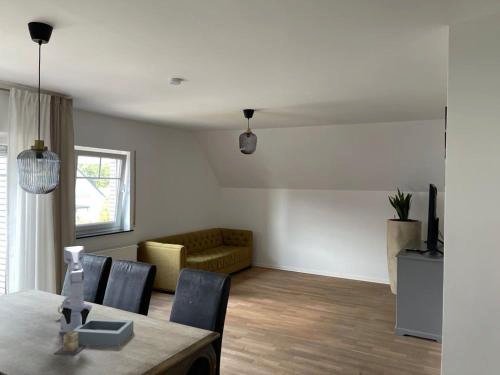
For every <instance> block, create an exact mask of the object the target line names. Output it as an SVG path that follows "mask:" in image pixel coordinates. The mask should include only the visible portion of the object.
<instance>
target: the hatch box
mask: <svg viewBox="0 0 500 375" xmlns="http://www.w3.org/2000/svg"><path fill="white" fill-rule="evenodd" d="M71 332H78V345H90V346H91V345H93V346H94V345H95V346H111V347H119V346H120V345H121V344H122V343H123V342H125V340H126V339H128V337H130V336H131V335H132V334H133V333H134V320H133V319H131V320H129V319H109V318H91V317H90V318H87V319H86V323H85V324H84V325H82V323H81V325H79V326H78V327H76V328H75V329H73V330H72V331H71Z"/></svg>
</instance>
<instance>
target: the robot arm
mask: <svg viewBox="0 0 500 375" xmlns="http://www.w3.org/2000/svg"><path fill="white" fill-rule="evenodd" d="M84 258H85V246H84V245H82V246H68V247H67V246H64V248H63V261H64V263H65V264H67V265H68V268H69V269H68V270H69V271H68V272H69V273H68V284H69V286H68V287H69V288H68V289H69V292H68V295H67V296H66V297H65V298H64V299H63V300H64V303H62V304H60V306H61V307H60V309H61V312H62V313H63V315H62V314H61V317H60V331H59V333H65V334H67V333H68V332H71V331H72V330H73V329H75V328H76V327H78V326H79V325H81V324H82V325H84V324H85V323H86V321H87V320H88V316H89V314H90V312H91V310H92V308H93V307H92V306H93V305H92V304H86V303H85V300H84V299H85V298H84V282H85V271H84V269H83V264H82V263H81V262H83V260H84ZM69 300H70V301H69ZM67 301H68V302H67ZM62 309H63V310H62Z"/></svg>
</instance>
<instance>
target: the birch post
mask: <svg viewBox="0 0 500 375" xmlns="http://www.w3.org/2000/svg"><path fill="white" fill-rule="evenodd" d="M78 345H79V344H78V332H68V333H65V334H64V335H63V346H64V349H63V351H74V350H75V349H76V348H78Z"/></svg>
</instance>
